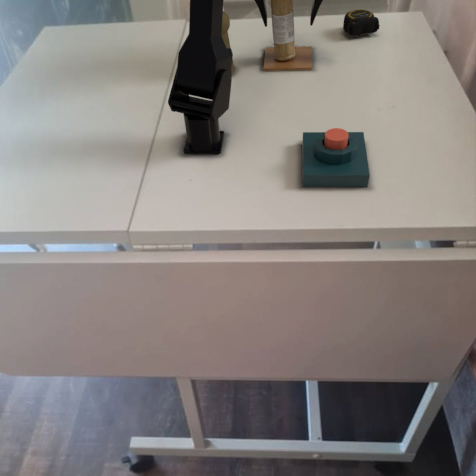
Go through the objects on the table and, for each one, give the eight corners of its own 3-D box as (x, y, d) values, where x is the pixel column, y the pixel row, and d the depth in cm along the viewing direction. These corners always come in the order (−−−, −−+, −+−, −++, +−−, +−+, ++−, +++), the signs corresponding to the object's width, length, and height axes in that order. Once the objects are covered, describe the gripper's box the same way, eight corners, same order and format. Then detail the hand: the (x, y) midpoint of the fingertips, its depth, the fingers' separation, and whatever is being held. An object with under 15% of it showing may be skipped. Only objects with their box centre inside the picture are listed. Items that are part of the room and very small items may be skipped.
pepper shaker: (222, 81, 97) (218, 21, 89) (200, 74, 100) (193, 15, 91) (240, 69, 100) (237, 10, 92) (218, 62, 103) (213, 4, 94)
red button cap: (347, 151, 74) (349, 140, 72) (324, 151, 74) (325, 140, 73) (346, 138, 76) (347, 127, 75) (323, 138, 76) (324, 128, 75)
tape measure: (348, 41, 106) (351, 22, 103) (338, 29, 110) (340, 10, 107) (378, 36, 106) (381, 18, 103) (366, 24, 110) (369, 6, 108)
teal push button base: (367, 187, 74) (371, 164, 71) (302, 187, 75) (303, 164, 72) (361, 143, 81) (365, 121, 78) (302, 143, 82) (303, 122, 79)
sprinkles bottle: (285, 50, 103) (281, -23, 93) (300, 55, 101) (297, -20, 90) (269, 58, 102) (263, -16, 92) (283, 63, 99) (279, -13, 89)
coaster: (311, 70, 98) (312, 67, 98) (263, 70, 99) (263, 68, 99) (311, 48, 104) (311, 46, 104) (265, 49, 105) (265, 47, 105)
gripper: (342, -87, 88) (333, 7, 101) (241, -83, 90) (245, 10, 102) (345, -69, 82) (335, 30, 94) (237, -64, 83) (241, 33, 96)
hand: (288, 25), depth 97 cm, fingers open, 9 cm apart
